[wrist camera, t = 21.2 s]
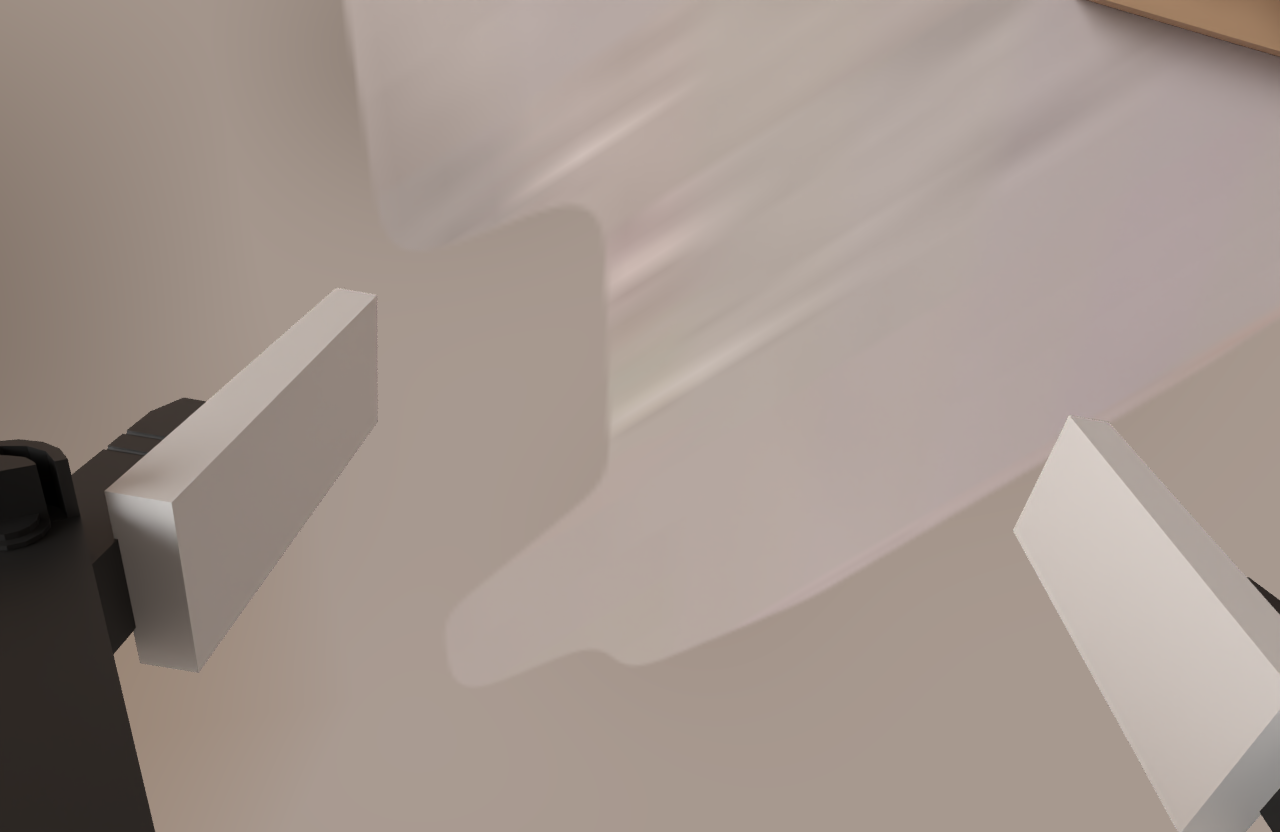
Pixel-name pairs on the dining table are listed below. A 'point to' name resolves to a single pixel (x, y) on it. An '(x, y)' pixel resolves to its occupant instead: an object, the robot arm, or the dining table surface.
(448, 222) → the dining table surface
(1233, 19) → the peg riser
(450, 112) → the dining table surface
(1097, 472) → the robot arm
